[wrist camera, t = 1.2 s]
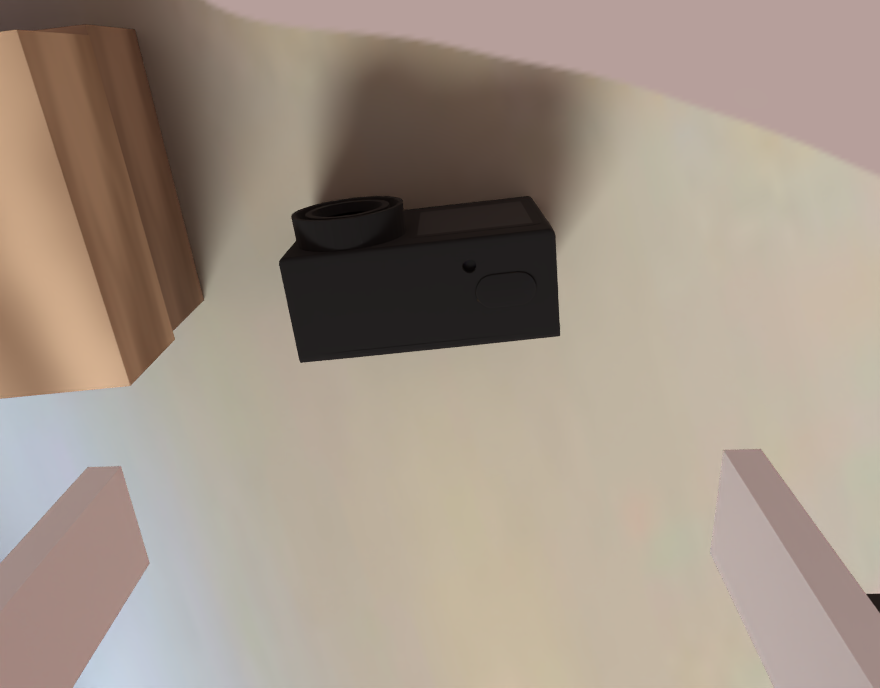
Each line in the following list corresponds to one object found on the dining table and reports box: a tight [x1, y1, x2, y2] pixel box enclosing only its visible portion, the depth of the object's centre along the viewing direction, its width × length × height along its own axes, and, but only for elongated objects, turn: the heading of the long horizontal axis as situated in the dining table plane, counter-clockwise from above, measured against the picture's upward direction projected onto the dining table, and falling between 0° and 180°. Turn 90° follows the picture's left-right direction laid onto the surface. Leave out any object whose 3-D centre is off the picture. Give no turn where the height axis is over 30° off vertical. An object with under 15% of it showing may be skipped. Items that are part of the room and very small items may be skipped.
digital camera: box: [279, 196, 560, 363], centre depth 28 cm, size 10×5×7 cm, turn 96°
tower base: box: [34, 24, 204, 331], centre depth 29 cm, size 10×12×4 cm
